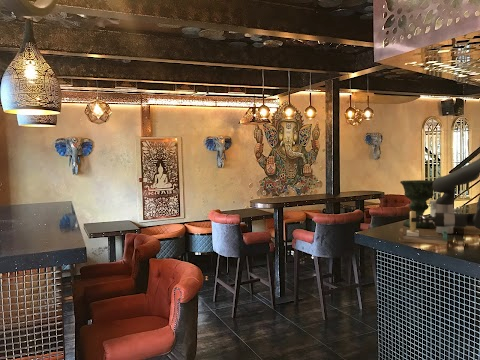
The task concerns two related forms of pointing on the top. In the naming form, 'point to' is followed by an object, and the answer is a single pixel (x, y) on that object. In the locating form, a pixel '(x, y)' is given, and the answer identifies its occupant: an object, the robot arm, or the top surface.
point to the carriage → (412, 225)
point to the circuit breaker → (433, 207)
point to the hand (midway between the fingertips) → (411, 218)
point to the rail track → (424, 238)
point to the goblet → (418, 198)
